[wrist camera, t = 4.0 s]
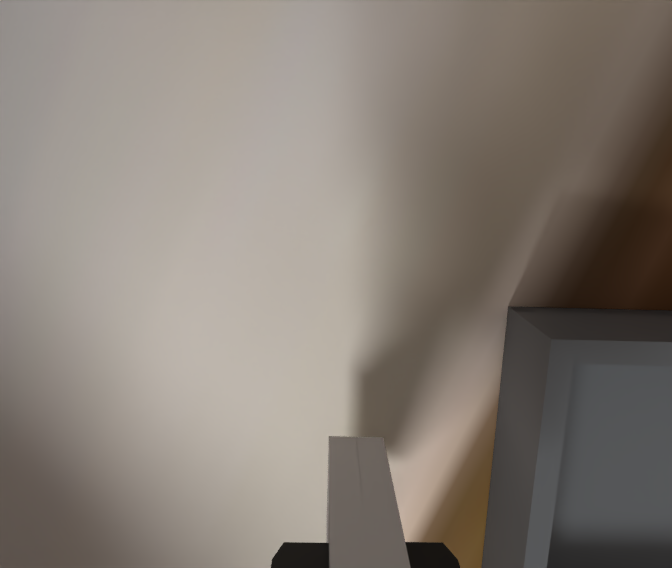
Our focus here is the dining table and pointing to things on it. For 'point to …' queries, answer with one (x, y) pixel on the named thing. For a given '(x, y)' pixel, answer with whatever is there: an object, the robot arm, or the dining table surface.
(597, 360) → the grey storage tray
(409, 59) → the dining table surface
